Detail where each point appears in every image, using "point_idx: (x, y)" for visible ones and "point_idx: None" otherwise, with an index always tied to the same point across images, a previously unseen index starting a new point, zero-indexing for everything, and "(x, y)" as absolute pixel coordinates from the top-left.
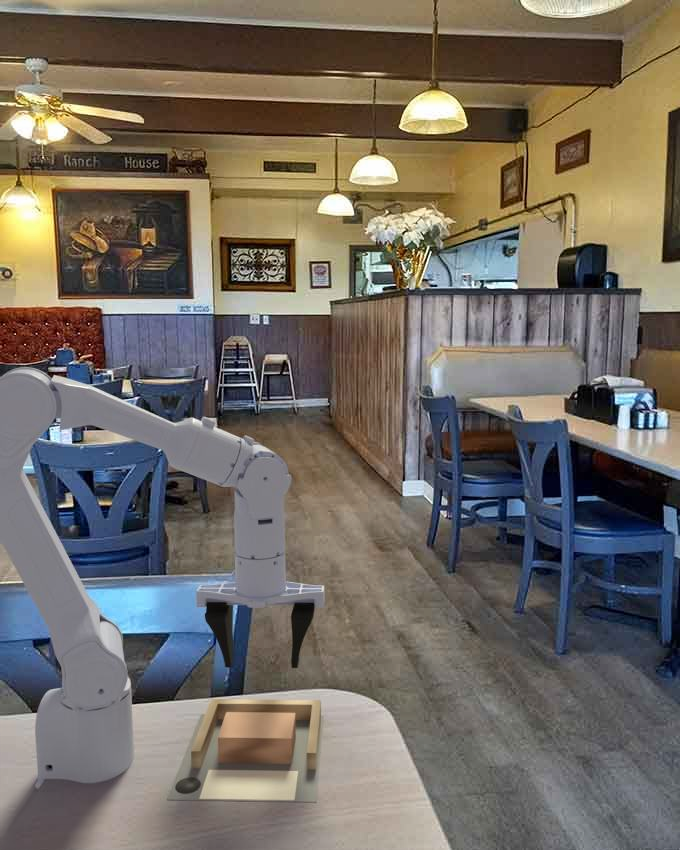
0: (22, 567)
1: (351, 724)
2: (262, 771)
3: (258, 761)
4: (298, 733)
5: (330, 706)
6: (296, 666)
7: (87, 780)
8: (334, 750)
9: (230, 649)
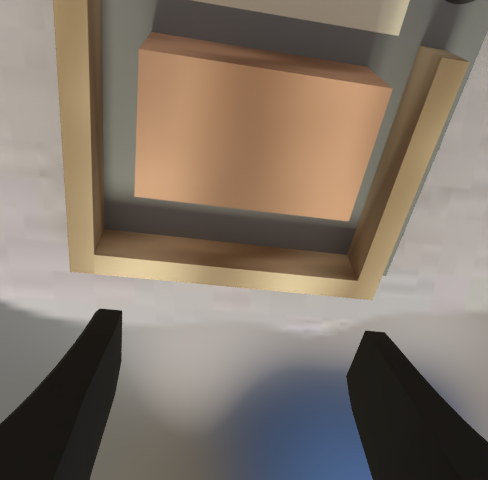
0: None
1: (3, 218)
2: (241, 4)
3: (252, 49)
4: None
5: (68, 290)
6: (98, 312)
7: None
8: (35, 112)
9: (384, 397)
